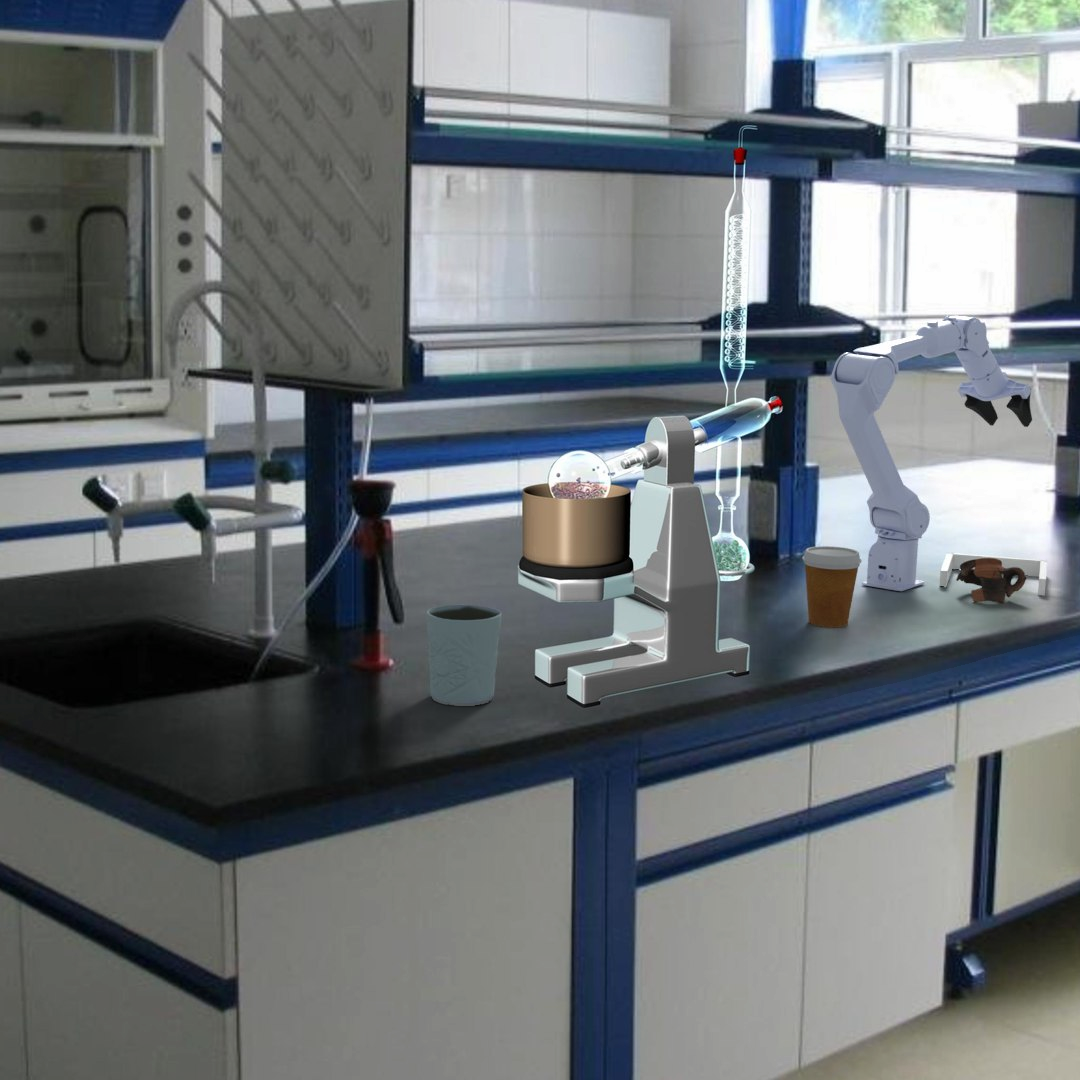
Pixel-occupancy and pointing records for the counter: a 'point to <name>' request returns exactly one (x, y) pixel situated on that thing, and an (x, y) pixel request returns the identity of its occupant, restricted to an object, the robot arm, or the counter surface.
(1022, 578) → the pottery mug
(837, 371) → the robot arm
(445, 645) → the grey tapered cup
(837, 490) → the counter surface
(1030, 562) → the u-shaped white bracket
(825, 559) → the disposable coffee cup
